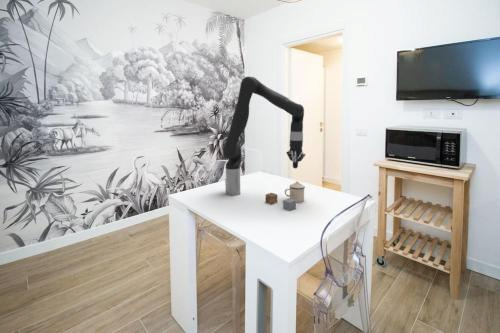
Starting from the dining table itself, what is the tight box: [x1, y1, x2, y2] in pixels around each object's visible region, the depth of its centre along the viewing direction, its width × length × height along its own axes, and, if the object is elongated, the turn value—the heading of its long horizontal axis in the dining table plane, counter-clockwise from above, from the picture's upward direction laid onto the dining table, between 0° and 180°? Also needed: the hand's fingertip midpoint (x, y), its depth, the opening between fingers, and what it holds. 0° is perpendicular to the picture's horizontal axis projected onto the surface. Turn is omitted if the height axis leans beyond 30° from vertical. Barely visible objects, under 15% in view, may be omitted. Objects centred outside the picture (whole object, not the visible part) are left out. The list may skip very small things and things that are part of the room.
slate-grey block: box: [282, 197, 297, 212], centre depth 152 cm, size 5×5×5 cm
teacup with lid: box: [284, 180, 305, 203], centre depth 165 cm, size 12×9×12 cm
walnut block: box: [265, 192, 278, 205], centre depth 162 cm, size 5×5×5 cm
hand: (295, 168), depth 162 cm, fingers closed
